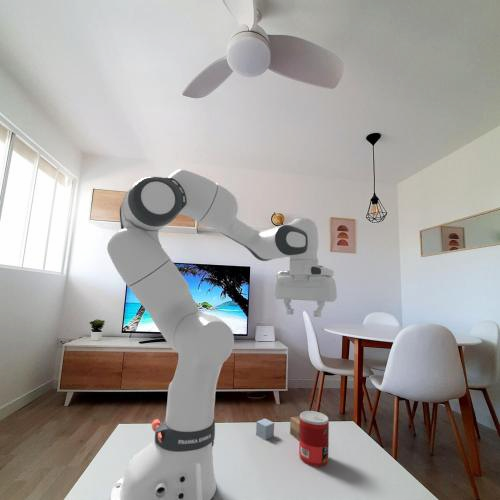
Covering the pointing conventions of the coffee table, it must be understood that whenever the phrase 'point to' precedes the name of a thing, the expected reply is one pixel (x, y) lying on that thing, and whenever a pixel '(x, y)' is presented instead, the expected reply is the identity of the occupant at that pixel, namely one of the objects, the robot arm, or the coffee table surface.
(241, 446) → the coffee table surface
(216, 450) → the coffee table surface
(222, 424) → the coffee table surface
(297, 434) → the tan cube
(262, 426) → the slate block
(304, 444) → the canned food
